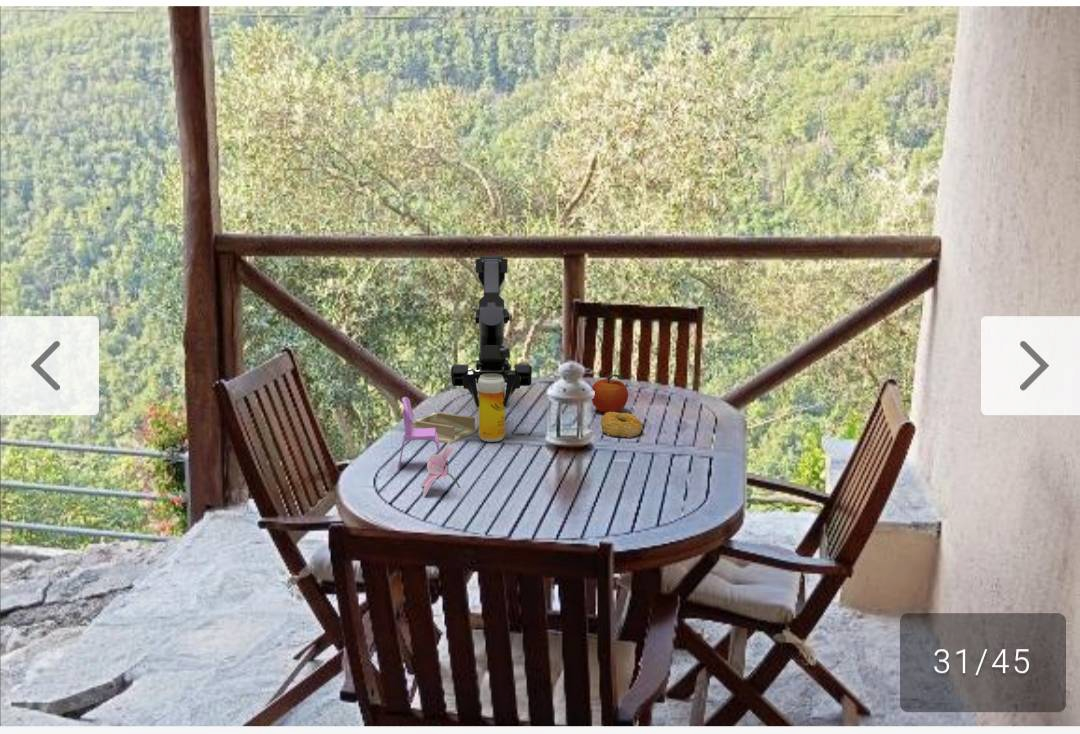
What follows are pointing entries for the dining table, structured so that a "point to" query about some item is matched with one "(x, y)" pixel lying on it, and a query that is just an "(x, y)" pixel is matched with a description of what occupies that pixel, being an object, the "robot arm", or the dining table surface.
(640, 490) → the dining table surface
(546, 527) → the dining table surface
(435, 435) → the toy chair
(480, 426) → the beer can
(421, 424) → the gold tray
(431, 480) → the lily
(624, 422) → the bagel
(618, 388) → the fruit
